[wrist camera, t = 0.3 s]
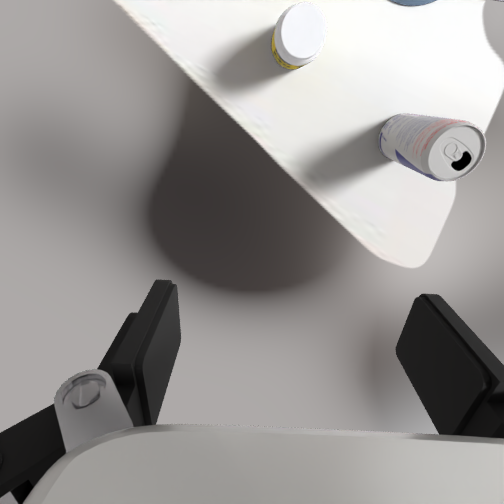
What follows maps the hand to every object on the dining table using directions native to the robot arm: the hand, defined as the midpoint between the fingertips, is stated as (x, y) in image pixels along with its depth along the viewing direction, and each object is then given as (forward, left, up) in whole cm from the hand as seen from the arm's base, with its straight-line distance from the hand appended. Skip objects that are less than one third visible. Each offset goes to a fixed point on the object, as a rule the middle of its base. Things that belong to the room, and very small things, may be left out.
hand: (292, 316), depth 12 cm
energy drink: (-5, +16, -31) cm, 35 cm away
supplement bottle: (-13, +1, -31) cm, 33 cm away
